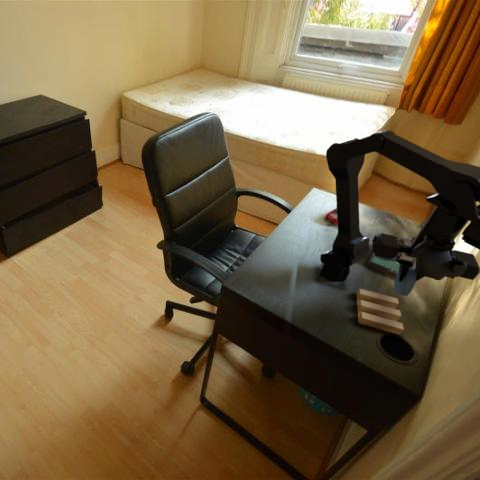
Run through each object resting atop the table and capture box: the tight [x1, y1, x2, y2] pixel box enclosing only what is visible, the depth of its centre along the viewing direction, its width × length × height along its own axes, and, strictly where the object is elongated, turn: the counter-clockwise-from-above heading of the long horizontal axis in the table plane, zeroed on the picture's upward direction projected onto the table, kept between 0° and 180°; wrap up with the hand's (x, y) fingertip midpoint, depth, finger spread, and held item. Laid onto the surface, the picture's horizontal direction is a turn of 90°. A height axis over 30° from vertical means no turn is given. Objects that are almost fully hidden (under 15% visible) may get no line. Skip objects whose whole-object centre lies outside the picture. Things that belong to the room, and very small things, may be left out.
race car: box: [324, 207, 338, 226], centre depth 117 cm, size 13×5×4 cm, turn 122°
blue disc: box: [393, 266, 417, 297], centre depth 77 cm, size 7×2×7 cm, turn 156°
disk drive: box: [366, 252, 416, 278], centre depth 100 cm, size 10×3×15 cm
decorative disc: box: [401, 236, 413, 246], centre depth 107 cm, size 6×6×1 cm
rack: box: [356, 288, 405, 336], centre depth 84 cm, size 9×10×3 cm
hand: (403, 281), depth 77 cm, fingers closed on blue disc, 2 cm apart
